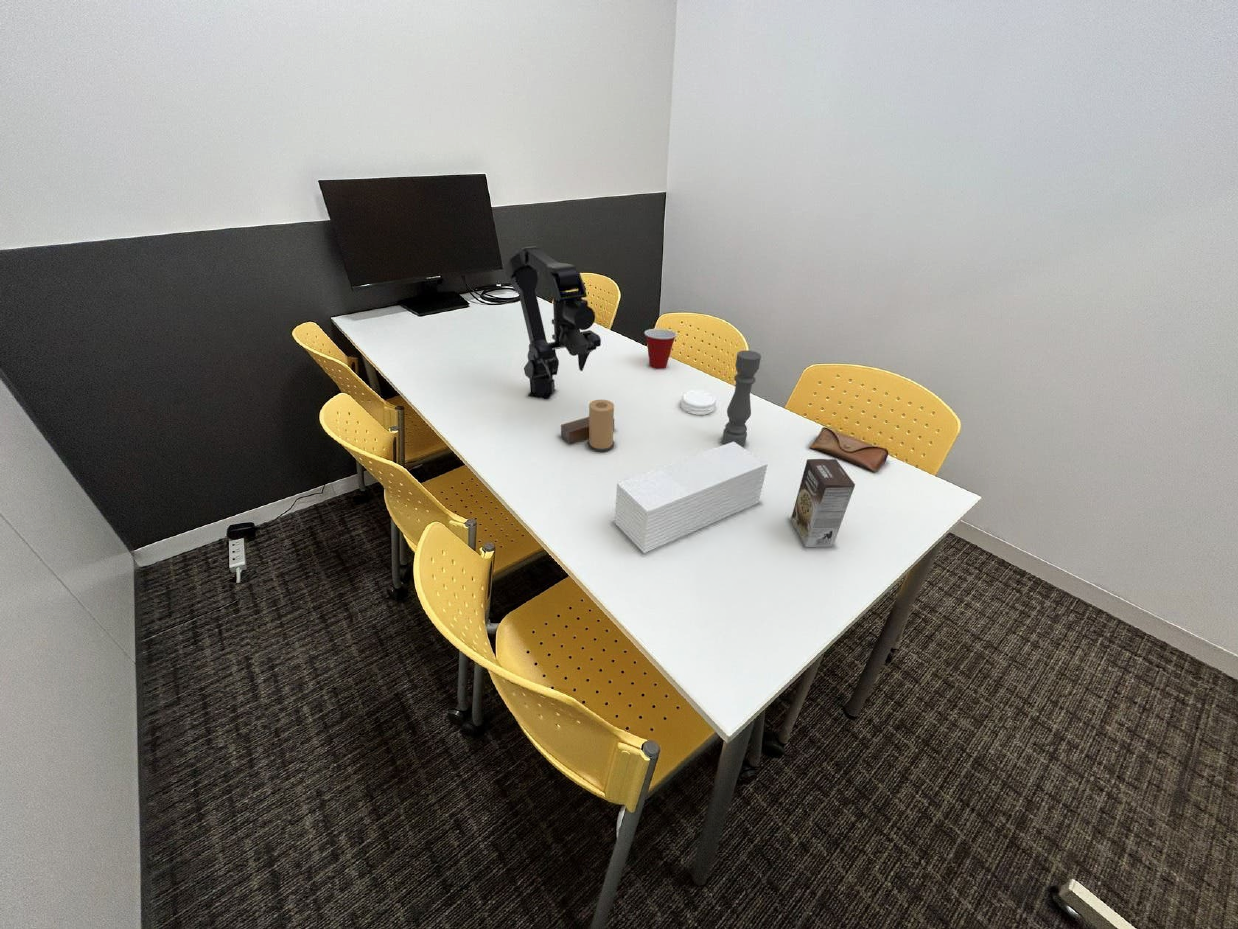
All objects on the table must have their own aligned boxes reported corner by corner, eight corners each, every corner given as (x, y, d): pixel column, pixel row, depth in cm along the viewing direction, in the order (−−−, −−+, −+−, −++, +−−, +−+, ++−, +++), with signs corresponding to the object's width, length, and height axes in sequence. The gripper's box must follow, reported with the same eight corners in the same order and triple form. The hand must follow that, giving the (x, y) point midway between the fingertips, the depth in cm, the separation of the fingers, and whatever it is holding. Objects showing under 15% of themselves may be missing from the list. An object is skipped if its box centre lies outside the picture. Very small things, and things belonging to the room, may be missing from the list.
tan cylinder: (572, 414, 141) (589, 397, 130) (594, 408, 144) (613, 391, 133) (589, 459, 140) (609, 446, 128) (611, 452, 143) (632, 438, 132)
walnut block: (560, 436, 142) (560, 424, 140) (605, 423, 149) (605, 411, 147) (569, 444, 139) (568, 432, 137) (614, 430, 146) (614, 418, 144)
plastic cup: (674, 360, 187) (677, 327, 181) (673, 373, 178) (677, 338, 172) (643, 358, 188) (645, 325, 181) (641, 370, 179) (643, 336, 172)
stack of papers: (643, 553, 106) (647, 511, 100) (615, 523, 114) (616, 482, 108) (758, 503, 121) (767, 463, 115) (726, 479, 129) (733, 441, 122)
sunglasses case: (807, 447, 141) (817, 423, 140) (813, 449, 147) (823, 426, 146) (877, 473, 132) (888, 448, 131) (880, 474, 138) (891, 450, 137)
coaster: (673, 407, 158) (675, 396, 156) (693, 396, 164) (695, 386, 163) (701, 419, 153) (702, 408, 151) (720, 407, 159) (722, 397, 157)
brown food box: (789, 519, 117) (805, 458, 108) (817, 518, 117) (836, 457, 108) (804, 548, 109) (823, 484, 100) (834, 547, 110) (856, 484, 101)
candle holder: (746, 439, 144) (763, 352, 130) (743, 450, 139) (760, 361, 125) (723, 435, 146) (738, 348, 132) (719, 446, 141) (734, 357, 127)
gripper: (546, 333, 126) (549, 393, 135) (612, 321, 135) (611, 377, 144) (526, 319, 134) (529, 376, 142) (590, 308, 142) (590, 363, 151)
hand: (566, 373), depth 145 cm, fingers open, 9 cm apart
